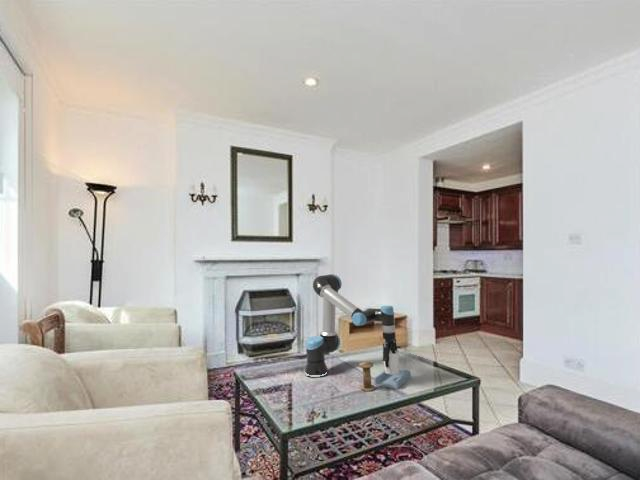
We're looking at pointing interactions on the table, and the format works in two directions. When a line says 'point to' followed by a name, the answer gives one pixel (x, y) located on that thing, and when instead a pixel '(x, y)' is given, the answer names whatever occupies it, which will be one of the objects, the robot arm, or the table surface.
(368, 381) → the bobbin post
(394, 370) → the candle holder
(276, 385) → the table surface
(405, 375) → the blue grey tray
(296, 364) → the table surface
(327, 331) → the robot arm
